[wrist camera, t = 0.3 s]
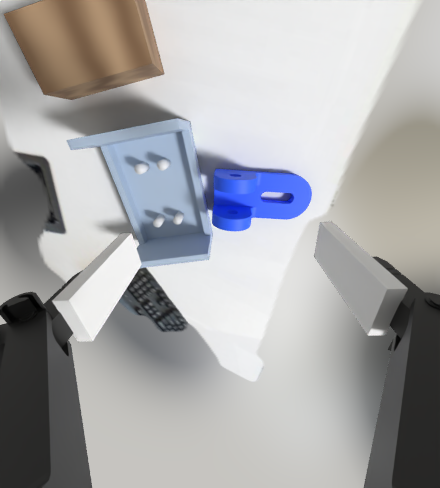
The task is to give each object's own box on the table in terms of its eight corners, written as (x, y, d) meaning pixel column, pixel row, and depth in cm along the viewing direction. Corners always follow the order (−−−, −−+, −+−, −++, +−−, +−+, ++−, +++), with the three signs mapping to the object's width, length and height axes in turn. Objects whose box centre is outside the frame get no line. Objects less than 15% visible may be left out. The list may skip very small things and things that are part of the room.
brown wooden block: (72, 100, 33) (43, 94, 28) (43, 34, 30) (3, 14, 24) (164, 74, 31) (152, 63, 26) (145, 1, 28) (126, -30, 22)
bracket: (214, 211, 42) (210, 229, 34) (215, 168, 38) (212, 178, 30) (301, 216, 42) (318, 236, 34) (312, 174, 38) (335, 186, 30)
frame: (105, 138, 36) (66, 140, 27) (190, 121, 34) (177, 118, 25) (146, 243, 46) (127, 269, 37) (212, 234, 44) (209, 259, 35)
